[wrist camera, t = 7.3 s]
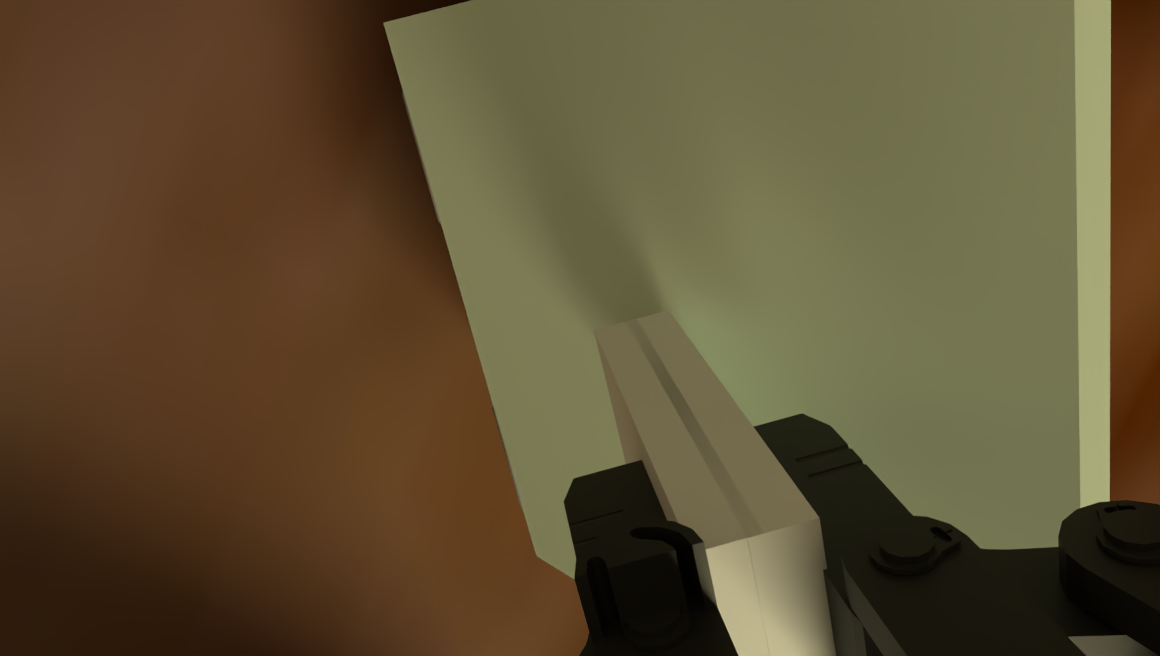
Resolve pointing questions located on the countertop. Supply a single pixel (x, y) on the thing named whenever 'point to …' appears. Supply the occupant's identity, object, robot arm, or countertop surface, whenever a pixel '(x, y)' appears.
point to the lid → (788, 230)
